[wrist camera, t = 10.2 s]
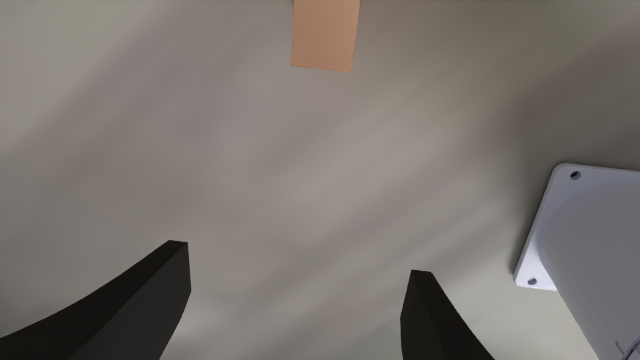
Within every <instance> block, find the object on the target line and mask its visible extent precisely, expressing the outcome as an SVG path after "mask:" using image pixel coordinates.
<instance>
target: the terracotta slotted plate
mask: <svg viewBox="0 0 640 360" xmlns="http://www.w3.org/2000/svg"><path fill="white" fill-rule="evenodd" d="M359 6H360V0H294V16H293V35H292V55H291V66H295V67H305V68H314V69H324V70H333V71H343V72H352V65H353V57H354V48H355V40H356V31H357V23H358V14H359Z"/></svg>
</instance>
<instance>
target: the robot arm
mask: <svg viewBox="0 0 640 360" xmlns="http://www.w3.org/2000/svg"><path fill="white" fill-rule="evenodd" d="M575 171H578V173H577V175H576V176H574V177H570V175H571V174H572V173H573V172H575ZM531 278H534V279H533V280H531V281H528V280H529V279H531ZM513 280H514V282H515V284H516V285H517V286H520V287H528V288H536V289H544V290H553V291H558V292H559V293H560V295H561V297H562V298H563V300H564V302H565V303H566V305H567V307H568V308H569V310H570V312H571V313H572V315H573V317H574V318H575V320H576V322H577V323H578V325H579V327H580V328H581V330H582V332H583V333H584V335H585V337H586V338H587V340H588V342H589V343H590V345H591V347H592V348H593V350H594V352H595V353H596V355H597V357H598V358H599V360H640V171H633V170H624V169H615V168H606V167H597V166H588V165H579V164H570V163H562V164H559V165H558V166H556V167H555V168H554V170H553V172H552V175H551V178H550V180H549V183H548V185H547V188H546V191H545V193H544V196H543V199H542V201H541V204H540V206H539V209H538V212H537V214H536V217H535V220H534V222H533V225H532V228H531V230H530V233H529V235H528V238H527V241H526V243H525V246H524V249H523V251H522V254H521V256H520V259H519V262H518V264H517V267H516V270H515V272H514V275H513ZM190 293H191V280H190V267H189V254H188V242H181V241H173V240H169V241H167V242H166V243H164V244H163V245H161V246H160V247H158V248H157V249H156V250H154V251H153V252H152V253H150V254H149V255H147V256H146V257H145V258H143V259H142V260H141V261H139V262H138V263H136V264H135V265H133V266H132V267H131V268H129V269H128V270H126V271H125V272H123V273H122V274H121V275H119V276H118V277H116V278H115V279H113V280H111V281H110V282H108V283H107V284H105V285H104V286H102V287H100V288H99V289H97V290H96V291H94V292H93V293H91V294H89V295H88V296H86V297H84V298H83V299H81V300H79V301H77V302H76V303H74V304H72V305H70V306H68V307H66V308H64V309H63V310H61V311H59V312H57V313H55V314H53V315H51V316H49V317H47V318H45V319H42V320H40V321H38V322H36V323H34V324H32V325H29V326H27V327H25V328H23V329H21V330H19V331H16V332H14V333H12V334H9V335H7V336H4V337H2V338H0V360H159V359H160V357H161V355H162V353H163V351H164V349H165V348H166V346H167V344H168V342H169V340H170V338H171V336H172V335H173V333H174V331H175V329H176V327H177V325H178V323H179V321H180V319H181V317H182V314H183V312H184V309H185V307H186V304H187V301H188V299H189V296H190ZM400 324H401V348H402V355H403V360H495V359H494V358H493V357H492V356H491V355H490V354H489V352H488V351H487V350H486V349H485V348H484V346H483V345H482V344H481V343H480V341H479V340H478V339H477V338H476V336H475V335H474V334H473V333H472V331H471V330H470V329H469V327H468V326H467V324H466V323H465V322H464V320H463V319H462V318H461V316H460V315H459V313H458V312H457V311H456V309H455V308H454V306H453V305H452V303H451V302H450V300H449V299H448V297H447V296H446V294H445V293H444V291H443V290H442V288H441V286H440V285H439V283H438V282H437V280H436V278H435V277H434V275H433V274H432V273H431V272H427V271H419V270H411V274H410V278H409V282H408V287H407V291H406V295H405V299H404V304H403V308H402V312H401V316H400Z"/></svg>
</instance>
